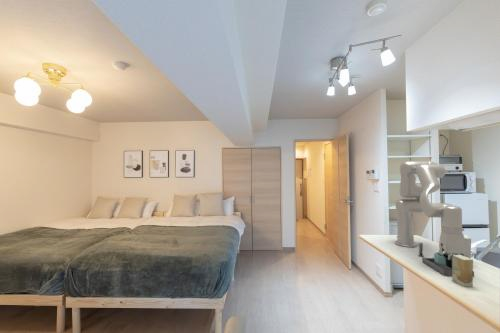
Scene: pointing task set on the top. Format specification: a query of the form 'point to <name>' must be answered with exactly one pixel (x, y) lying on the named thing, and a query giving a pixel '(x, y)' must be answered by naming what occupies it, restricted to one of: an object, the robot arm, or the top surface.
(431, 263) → the tray
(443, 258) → the teal magnifying glass
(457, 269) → the skincare box
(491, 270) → the top surface
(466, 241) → the skincare box
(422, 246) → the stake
